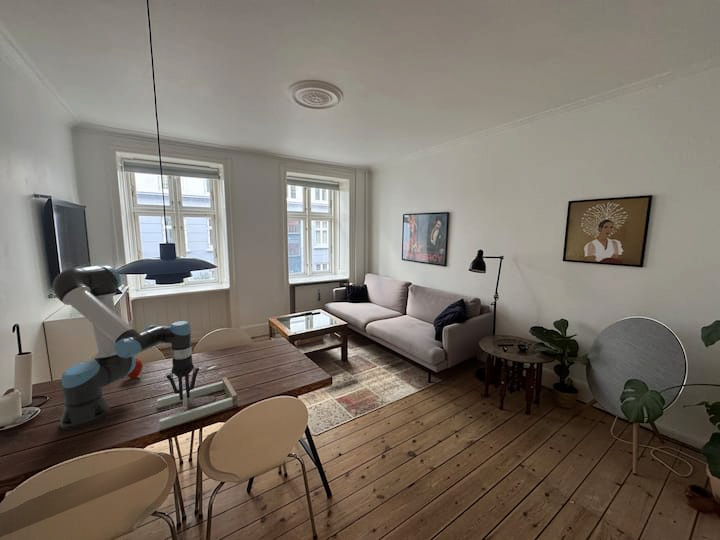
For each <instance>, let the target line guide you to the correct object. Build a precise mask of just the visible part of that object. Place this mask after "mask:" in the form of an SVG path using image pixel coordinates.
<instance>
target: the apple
mask: <svg viewBox="0 0 720 540" xmlns="http://www.w3.org/2000/svg"><path fill="white" fill-rule="evenodd" d="M135 359H136V365H135V368H134V369H133V371H132V372H131V373H129V374H128V375H126V376H127V377H128V378H130V379H137V378H138V376H140V373H141V371H142V370H143V363H142V361H141V360H140V359H139V358H135Z"/></svg>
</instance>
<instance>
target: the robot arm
mask: <svg viewBox="0 0 720 540" xmlns="http://www.w3.org/2000/svg"><path fill="white" fill-rule="evenodd" d="M114 271H117V270H116V269H115V268H113V267H112V266H110V265H92V266H83V267H82V266H81V267H73V268H68V269H65V270H63V271H61V272H59V274H58V275H56V276H55V278H54V280H53V283H52V289H53V293H54V294H55V296H56V298H57V299H58V300H59V301H60V302H61V303H63V304H64V305H66V306H71V307H72V308H74V310H76V311H77V312H78V313H79V314H80V315H82V316H83V317H84V318H85V319H86V320H87V321H89V322H91V324H92V327H93V328H92V329H93V332H94V337H95V343H96V348H97V352H96V354H95V355H94V360H89V361H83V362H82V363H78V364H75V365H72V366H70V367H69V368H68V369H67V368H66V370H64V372H63V373H62V376H61V387H62V394H63V402H64V408H63V411H62V415H61V418H60V421H59V422H60V428H61V429H63V430H65V431H72V430H73V431H74V430H79V429H83V428H86V427H89V426H92V425H94V424H96V423H98V422H101V421H102V420H103V419H105V418H106V417H107V416H108V415H109V413H110V408H109V404H108V403H107V402H106V400H105V398H104V396H103V390H102V389H103V388H104V387H105V388H106V386H108V385H110V384H112V383H114V382H116V381H118V380H120V379H123V378H125V377H126V376H127V375H128V374H129V373H131V372H132V371H133V369H134V368H135V365H136V359H137V358H136V355H138V354H139V353H142V352H144V351H146V350H148V349H151V348H153V347H155V346H157V345H159V344H170V346H171V357H172V358H171V360H172V369H171V371H170V372H168V373H166V374H165V376H166V378H167V379H168V380H169V382H170V384H171V387H172V389H173V392H174V394H179V395H180V400H183V401H182V406H183V408H187V404H188V400H187V398H189V397H190V393H189V392H190V390H193V389H195V385H196V380H197V376H198V373H199V371H200V367H199V366H198V365H197V366H195V364H194V363H193V356H192V354H193V352H192V351H193V350H192V335H191V334H192V331H191V330H192V329H191V324H190V322H189V321H186V320H182V321H175V322H172V323H171V324H170V325H164V324H162V325H161V324H151V325H148V326H147V327H146V328H145V329H144V330H143V331H141V332H138V331H137V330H136V329H135V328H134V327H132V326H130V325H129V323H127V322H126V321H125V320H124V319H122V317H120V316H119V315H118V314H117V312H116V308H115V307H116V306H115V302H114V296H115V295H116V294H117V290H116V289H117V288H118V287H120V284H121V276H120V273H119V274H113V272H114ZM192 371H193V372H192ZM191 372H192V376H191V379H190V377H189V375H190V374H191ZM174 375H175V377H177V379H178V386H177V385H176V383H175V380H174ZM183 377H184V380H185V381H184V382H185V390H184V389H183Z"/></svg>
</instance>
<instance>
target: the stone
mask: <svg viewBox="0 0 720 540" xmlns="http://www.w3.org/2000/svg"><path fill="white" fill-rule="evenodd" d="M214 402H217V400H216V396H215V395H210V396H206V395H204V396H198V397H195V398H191V399H188V400H187V406H186V411H188V410H191V409H195V408H198V407H201V406H204V405H208V404H211V403H214Z"/></svg>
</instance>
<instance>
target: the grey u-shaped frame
mask: <svg viewBox="0 0 720 540" xmlns="http://www.w3.org/2000/svg"><path fill="white" fill-rule="evenodd" d="M221 380H222V381H218V382H214V383H210V384H207V385H203V386H201V387H200V386H199V387H197V388H194V389H193V390H190V392H189V393H190V397H189V398H187V401H189V399H192V398H198V397H203V396H206V395H208V394H212V393H215V392H218V391H222V390H224V392H225V394H226V396H227V398H225V399H224V398H223V399H221V400H216V402H214V403H211V404H208V405H204V406H201V407H198V408H195V409H191V410H188V411H187V410H185V411H181V412H178V413H176V414H172V415H169V416H167V417H163V418H160V419H159V429H160V430H165V429H168V428H170V427H174V426H176V425H179V424H182V423H185V422H188V421H191V420H194V419H197V418H201V417H203V416H207V415H210V414H212V413H216V412H219V411H222V410H225V409H228V408H231V407H234V406H237V405H238V395H237V393H236V391H235V389H234V387H233V386H232V384H231V383H230V381H229V378H228V377H226V376H225V377H223V378H221ZM156 400H157V408H158V409H160V408H163V407H167V406H170V405H173V404H176V403H177V404H178V403H180V402H183V400H180V395H179V394H175V393H174V394H169V395H167V396H164V397H159V398H157V399H156Z"/></svg>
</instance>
